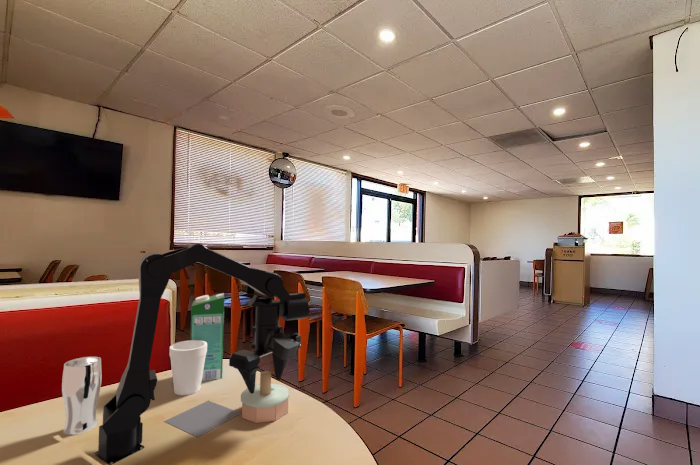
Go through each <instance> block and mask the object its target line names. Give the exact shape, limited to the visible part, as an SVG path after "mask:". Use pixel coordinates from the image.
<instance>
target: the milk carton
mask: <svg viewBox="0 0 700 465" xmlns="http://www.w3.org/2000/svg"><path fill="white" fill-rule="evenodd" d="M190 309H191V310H190V312H191V313H190V315H191V316H190V340H202V341H205V342H206V343H207V353H206V357H205V363H204V369H203V375H202V381H210V380H219V379H220V380H221V379H223V365H224V362H223V361H224V360H223V358H224V357H223V356H224V323H225V320H224V319H225V293H224V292H221V293H218V294H213V295H209V294H205V295H201V296H197V297H195V300H193V302H192V304H191V308H190ZM202 381H201V382H202Z"/></svg>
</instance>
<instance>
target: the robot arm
mask: <svg viewBox="0 0 700 465" xmlns="http://www.w3.org/2000/svg"><path fill="white" fill-rule="evenodd" d="M198 263H199V264H201V265H204V266H206V267H209V268H211V269H213V270H216V271H218V272H220V273H223V274H225V275H227V276H229V277H233V278H235V279H237V280H238V281H239V280H240V281H241V282H243V284H245V285H246V286H247V287H250V288H251V289H253V290H254V291H255V292H257V293H259V294H261V295H263V296H266V297H259V296H258V295H255V294H254V295H252V296H253V297H251V299H249V300H248V301H247V303H246V305H248V306H250V307H252V308H254V307H255V326H251V332H254V342H253V343H251V344H250V345H251V346H250V349H253V350H254V351H251V350H247V349H241V350H238V351H235V352H232V353H231V354H230V355H229V358H228V359H229V363H228V365H229V367H232V368H234V369H237V370H238V372H239V374H240V375H241V377H242V379H243V381H244V383H245V385H246V389H247V388H248V390H249V392H250V393H252V394H253V393H254V390H255V385H256V379H257V376H256V375H257V372H258V371H259V369H260V368H261V366H260V363H261V360H260V359H261V358H263V357H265V356H268V355H270V354H271V355H272V363H273V369H274V376H275V379H276V380H277V381H280V380H281V379H282V376H283V372H284V370H285V368H286V364H287V362H288V360H289V359H290V358H294V357H295V356H296V353H297V350H300V349H302V348H301V347H302V346H301V343H302V336H301V334H300V333H299V332H295V333H292V334H291V335H290V334H285V333H284V328H283V326H281V325H280V317H281V318H282V319H283V320H284V322H285V321H294V320H295V321H296V320H301V319H306V318H308V316H309V314H310V306H309V302H308V299H307V296H306V295H307V294H306V292H301V291H300V292H296V293H289V292H288V290H287V289H286V287H285V286H284V280H283V277H282V276H281V275H279V274H278V273H274V272H271V271H267V270H263V269H258V268H254V267H250V266H249V265H246V264H243V263H242V262H239V261H236V260H235V259H232V258H230V257H228V256H226V255H223V254H222V253H219V252H217V251H214V250H212V249H210V248H208V247H207V246H205V245H204V244H201V243H191V244H189V245H188V246H185V247H181V248H178V249H175V250H171V251H167V252H164V253H159V252H149V253H147V254H145V255H143V256H142V257H141V258H140V260H139V261H138V272H137V273H138V288H139V299H138V304H137V310H136V314H135V315H136V316H135V322H134V326H133V333H132V340H131V345H130V349H129V350H130V351H129V355H128V356H129V357H128V360H127V365H126V367H125V368H124V369H125V370H124V371H123V373H122V375H121V377H120V381H119V383H118V386H117V388H116V392H115V395H113V397H111V399H109V401H108V402H107V403H106V404H105V405H103V407H102V424H101V425H99V426H98V446H97V448H98V450H97V451H95V452H94V453H93V455H94V456H95V457H97V459H98V458H99V460H101V461H103V462H104V463H105V464H107V465H114V464H116V463H118V462H120V461H122V460H125V459H126V458H128V457H130V456H132V455H134V454H136V453H138V452H140V451H141V450H143V449H145V446H144V445H142V443H143V431H144V430H143V424H144V423H143V422H142V421H141V420H142V417H141V415H143V413H145V412H147V410H148V409H149V407H150V405H151V401H155V399H156V398H155V390H156V386H157V385H158V384H157V383H158V380H159V379H158V377H157V373H156V370H155V369H152V370H151V369H150V365H151V364H150V363H151V358H152V353H153V348H154V347H153V346H154V340H155V335H156V328H157V323H158V318H159V311H160V310H159V309H160V304H161V300H162V298H163V297H162V296H163V295H164V293H165V291H166V288H167V287H168V284H169V281H170V279H171V275H172V274H173V273H176V272H178V271H181V270H183V269H185V268H188V267H190V266H192V265H194V264H198ZM272 298H277V300H276V299H275V300H273V299H272Z"/></svg>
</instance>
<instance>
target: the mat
mask: <svg viewBox="0 0 700 465" xmlns="http://www.w3.org/2000/svg"><path fill="white" fill-rule="evenodd" d="M239 415H242V412H239V411H237V410H235V409H232V408H229V407H228V406H227V407H226V406H224V405H221V404H219V403H216V402H213V401H210V400H207V401H205V402H203V403H200V404H198V405H196V406H194V407H192V408H189V409H186V410H185V411H183V412H180V413H178V414H176V415H173V416H172V417H170V418H168V419H166V420H164V421H163V422H165V423H167V424H168V425H171V427H175V428H177V429H179V430H181V431H183V432H185V433H187V434H189V435H192V436H194V437H196V438H200V437H201V436H203V435H205V434H206V433H208V432H210V431H212V430H214V429H215V428H217V427H219V426H221V425H223V424H225V423H227V422H229V421H230V420H232V419H234V418H235V417H237V416H239Z"/></svg>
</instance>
